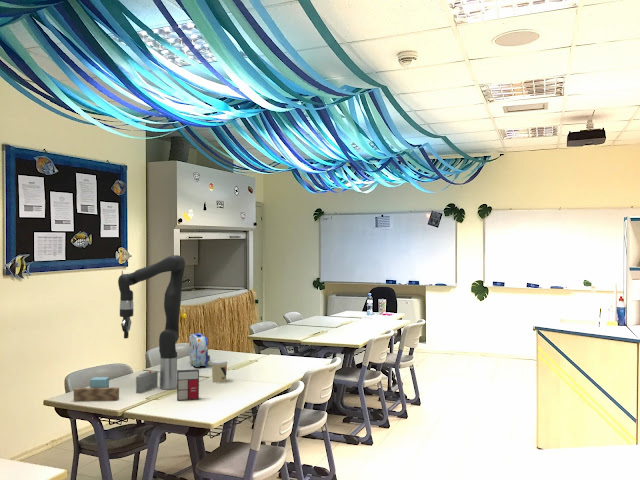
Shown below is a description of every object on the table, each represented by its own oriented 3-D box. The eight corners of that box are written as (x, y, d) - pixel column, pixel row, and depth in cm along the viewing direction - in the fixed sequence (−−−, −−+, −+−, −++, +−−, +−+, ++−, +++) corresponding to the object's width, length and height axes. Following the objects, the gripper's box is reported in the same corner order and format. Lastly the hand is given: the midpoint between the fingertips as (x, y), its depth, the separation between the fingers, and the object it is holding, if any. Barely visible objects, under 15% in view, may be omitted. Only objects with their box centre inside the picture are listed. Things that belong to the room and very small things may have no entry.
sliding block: (108, 394, 291) (109, 377, 291) (105, 396, 285) (105, 379, 285) (93, 394, 290) (93, 377, 290) (89, 397, 284) (89, 379, 284)
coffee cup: (223, 383, 320) (223, 363, 320) (208, 382, 322) (208, 362, 322) (229, 380, 329) (229, 360, 329) (214, 379, 331) (215, 359, 331)
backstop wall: (128, 390, 304) (128, 379, 304) (117, 400, 282) (117, 388, 282) (88, 390, 302) (88, 379, 302) (73, 401, 281) (73, 389, 281)
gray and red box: (177, 401, 282) (177, 371, 282) (177, 398, 286) (177, 370, 286) (198, 399, 285) (199, 370, 285) (198, 397, 289) (198, 369, 289)
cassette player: (153, 386, 312) (153, 369, 312) (157, 387, 311) (157, 369, 312) (136, 393, 297) (136, 374, 298) (140, 393, 297) (140, 375, 297)
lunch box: (211, 368, 361) (211, 335, 362) (195, 369, 357) (195, 336, 357) (201, 360, 386) (202, 329, 387) (187, 362, 382) (187, 330, 382)
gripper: (130, 309, 310) (129, 340, 310) (136, 307, 323) (135, 336, 323) (116, 309, 309) (116, 340, 309) (123, 307, 323) (122, 336, 322)
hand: (126, 338), depth 316 cm, fingers closed
